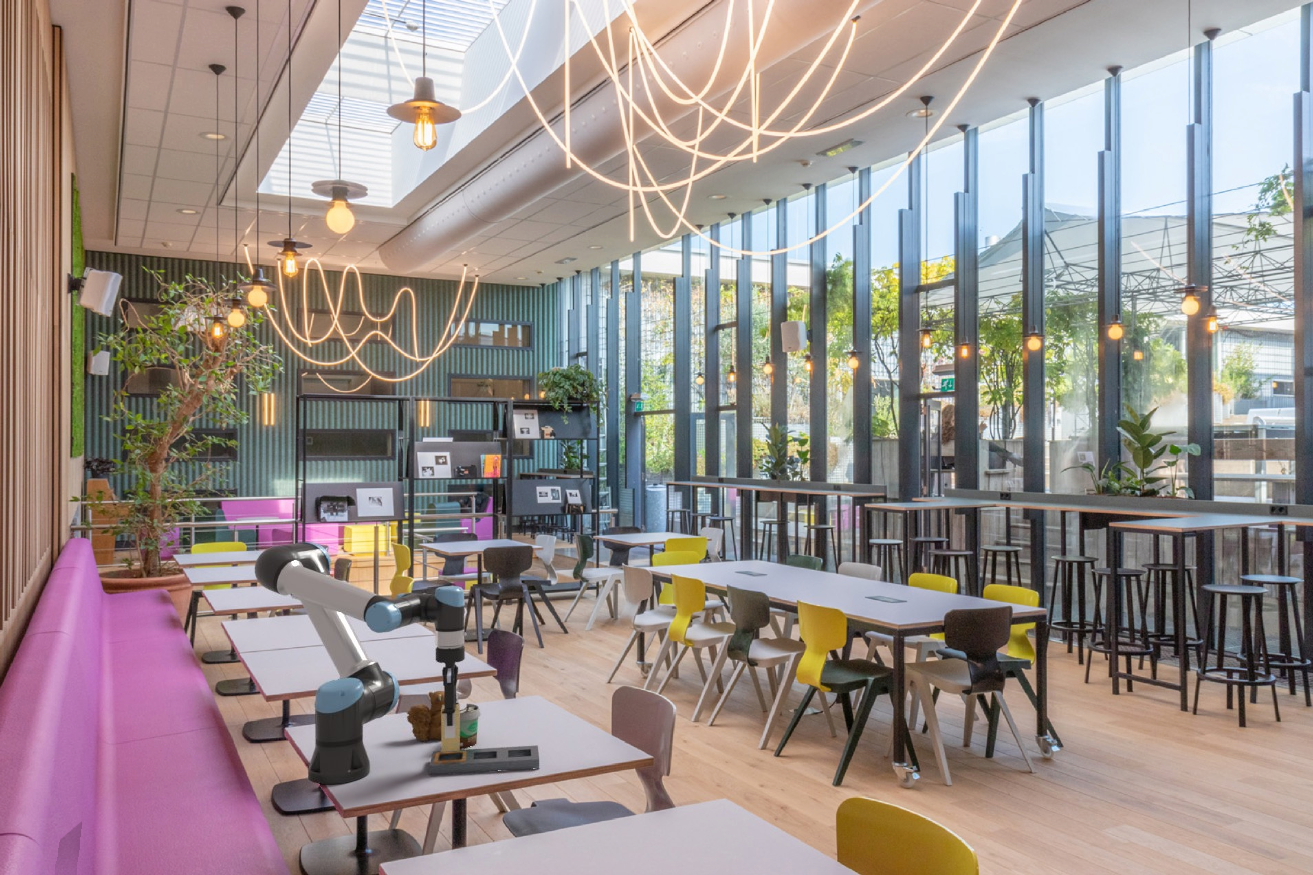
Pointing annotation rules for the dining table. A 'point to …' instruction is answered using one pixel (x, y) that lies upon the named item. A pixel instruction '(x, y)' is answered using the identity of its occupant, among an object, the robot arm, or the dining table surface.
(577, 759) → the dining table surface
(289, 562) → the robot arm
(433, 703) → the stuffed squirrel
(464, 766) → the grey slotted tray
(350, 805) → the dining table surface
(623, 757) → the dining table surface
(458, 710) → the brass post
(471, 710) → the food container
